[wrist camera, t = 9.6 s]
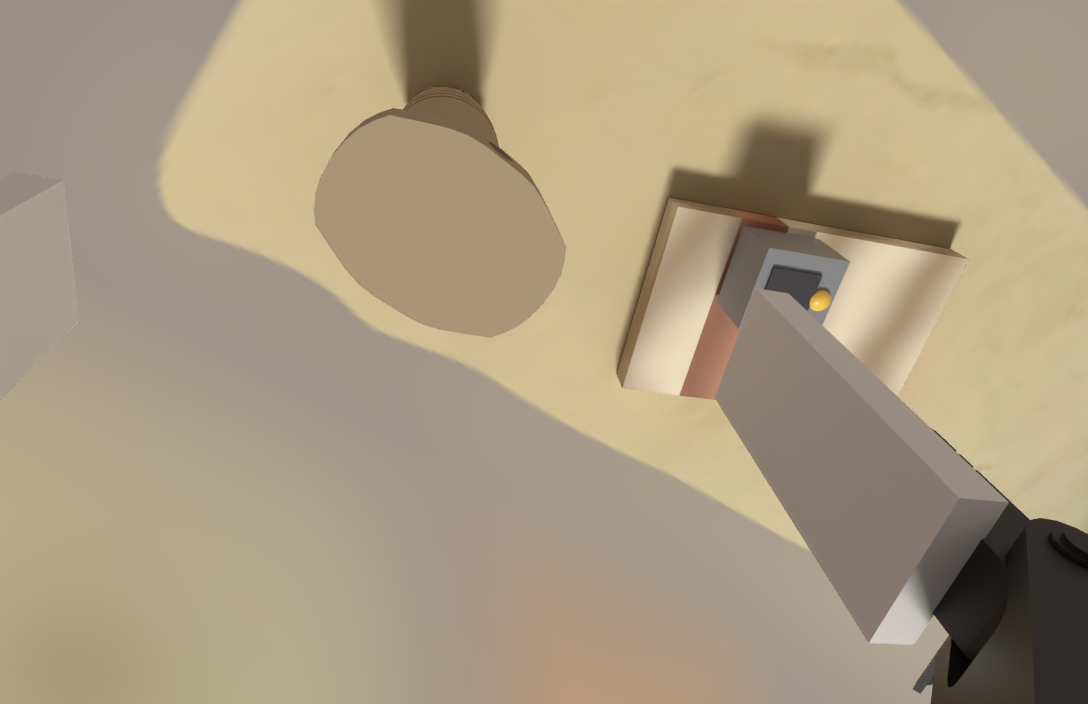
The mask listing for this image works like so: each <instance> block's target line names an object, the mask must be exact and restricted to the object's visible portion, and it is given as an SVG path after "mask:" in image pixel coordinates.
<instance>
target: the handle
mask: <svg viewBox="0 0 1088 704" xmlns="http://www.w3.org/2000/svg"><path fill="white" fill-rule="evenodd" d="M314 213H315V225H316V226H317V228H318V229H319V231H320V232H321V234H322V235H323V237H324V238H325V240H326V241H327V243H328V244H329V246H330V247H331V249H332V250H333V252H334V253H335V255H336V256H337V258H338V259H339V260H340V262H341V263H342V265H343V266H344V268H345V269H346V270H347V271H348V273H349V274H350V275H351V276H352V277H353V278H354V279H355V281H356V282H357V283H358V284H359V285H360V286H362V287H363V288H364V289H366V290H367V291H368V292H370V293H371V294H372V295H373V296H375V297H376V298H378V299H380V300H381V301H383V302H384V303H386V304H388V305H389V306H391V307H393V308H394V309H396V310H397V311H399V312H401V313H402V314H404V315H405V316H407V317H409V318H411V319H413V320H415V321H417V322H419V323H421V324H423V325H426V326H430V327H433V328H437V329H440V330H446V331H451V332H457V333H463V334H470V335H477V336H484V337H493V336H496V335H499V334H502V333H505V332H507V331H509V330H511V329H513V328H515V327H517V326H518V325H520V324H521V323H522V322H524V321H525V320H527V319H528V318H529V317H530V316H531V315H532V314H533V313H534V312H535V311H536V310H537V309H538V308H539V307H540V306H541V305H542V304H543V303H544V302H545V300H546V299H547V297H548V296H549V295H550V293H551V292H552V291H553V289H554V287H555V285H556V283H557V281H558V279H559V277H560V275H561V272H562V268H563V264H564V260H565V251H566V246H565V244H564V241H563V239H562V237H561V235H560V232H559V230H558V228H557V226H556V224H555V222H554V220H553V218H552V216H551V213H550V211H549V209H548V207H547V205H546V203H545V201H544V199H543V198H542V196H541V194H540V192H539V190H538V188H537V187H536V185H535V183H534V182H533V180H532V178H531V177H530V175H529V173H528V172H527V171H526V170H525V169H524V168H523V167H522V166H520V165H519V164H518V163H517V162H516V161H515V160H514V159H513V158H511V157H510V156H509V155H508V154H507V153H505V152H504V151H503V150H502V149H500V148H499V145H498V141H497V137H496V133H495V131H494V128H493V126H492V123H491V121H490V119H489V118H488V116H487V114H486V113H485V111H484V110H483V109H482V107H481V106H480V105H479V104H478V103H477V102H476V101H475V99H474V98H473V97H472V96H471V95H470V94H469V93H468V92H467V91H465V90H463V89H460V90H458V89H454V88H449V87H436V88H435V87H434V86H430V87H427V88H426V89H424V90H423V91H422V92H421V93H420V94H418V95H416V96H415V97H414V98H413V99H412V100H410V101H409V103H408V104H407V105H406V106H405V107H404V109H403V110H401V109H395V108H392V109H389V110H387V111H384V112H381V113H378V114H376V115H374V116H372V117H370V118H369V119H367V120H365V121H363V122H362V123H361V124H360V125H359V126H357V127H356V128H355V129H354V130H353V131H352V132H350V133H349V134H348V136H347V137H346V138H345V139H344V141H343V142H342V143H341V144H340V146H339V147H338V148H337V149H336V151H335V152H334V154H333V155H332V157H331V159H330V161H329V162H328V164H327V166H326V168H325V170H324V172H323V174H322V175H321V178H320V181H319V184H318V188H317V191H316V194H315V207H314Z"/></svg>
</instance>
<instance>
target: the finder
mask: <svg viewBox="0 0 1088 704" xmlns="http://www.w3.org/2000/svg"><path fill="white" fill-rule="evenodd" d="M849 264H850V261H849V260H847V259H846V258H844V257H843V256H842V255H840V254H839V253H838V252H836V251H835V250H833V249H832V248H831V247H829V246H828V245H827V244H825V243H824V242H822V241H821V240H820V239H816V238H811V237H805V236H800V235H794V234H788V233H783V232H777V231H772V230H766V229H760V228H755V227H749V226H743V228H742V231H741V234H740V237H739V240H738V243H737V245H736V248H735V251H734V254H733V257H732V259H731V262H730V265H729V268H728V271H727V273H726V276H725V279H724V282H723V285H722V288H721V290H720V293H719V296H718V299H717V303H718V304H719V306H720V307H721V308H722V309H723V311H724V312H725V313H726V314H727V315H728V317H729V318H730V319H731V320H732V322H733V323H734V324H735V325H736V327H737V328H738V329H741V327H742V324H743V322H744V319H745V316H746V314H747V311H748V308H749V306H750V303H751V301H752V298H753V295H754V293H755V290H756V288H757V289H763V290H770V291H776V292H783V293H789V294H790V295H791V296H792V297H793V298H794V299H795V300H796V301H797V302H798V303H799V304H800V305H801V306H802V307H803V308H805V309H806V310H807V311H808V312H809V313H810V314H811V315H812V316H813V317H814V318H815V319H816V320H817V321H818V322H819V323H820V324H821V325H823V323H824V320H825V318H826V316H827V314H828V311H829V309H830V307H831V304H832V302H833V300H834V298H835V295H836V293H837V291H838V289H839V286H840V284H841V282H842V279H843V277H844V275H845V273H846V270H847V268H848V266H849Z"/></svg>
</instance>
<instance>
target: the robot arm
mask: <svg viewBox="0 0 1088 704" xmlns="http://www.w3.org/2000/svg"><path fill="white" fill-rule="evenodd" d="M78 323H79V313H78V304H77V295H76V287H75V277H74V268H73V259H72V251H71V241H70V233H69V224H68V214H67V206H66V197H65V188H64V180H61V179H54V178H48V177H42V176H35V175H28V174H22V173H16V172H12V173H10V174H8V175H6V176H4V177H2V178H0V399H1V398H2V397H3V396H4V395H5V394H6V393H7V392H9V390H11V389H12V388H13V387H14V386H15V385H16V383H18V382H19V381H20V380H21V379H22V378H23V377H24V376H25V375H26V374H27V373H28V372H29V371H30V370H31V369H32V368H33V367H34V366H35V365H36V364H37V363H38V362H39V361H40V360H41V359H42V358H43V357H44V356H45V355H46V354H48V353H49V352H50V351H51V350H52V349H53V348H54V347H55V346H56V345H57V344H58V343H59V342H60V341H61V340H62V339H63V338H64V337H65V336H66V335H67V334H68V333H69V332H70V331H71V330H72V329H73V328H74V327H75V326H76V325H77V324H78ZM715 399H716V401H717V402H718V404H719V405H720V407H721V409H722V410H723V412H724V413H725V415H726V416H727V418H728V420H729V421H730V423H731V424H732V426H733V428H734V429H735V431H736V432H737V434H738V436H739V437H740V439H741V440H742V442H743V444H744V445H745V447H746V448H747V450H748V452H749V453H750V455H751V456H752V458H753V459H754V461H755V463H756V464H757V466H758V467H759V469H760V471H761V472H762V474H763V475H764V477H765V479H766V480H767V482H768V483H769V485H770V487H771V488H772V490H773V491H774V493H775V495H776V496H777V498H778V499H779V501H780V502H781V504H782V506H783V507H784V509H785V510H786V512H787V514H788V515H789V517H790V518H791V520H792V522H793V523H794V525H795V526H796V528H797V530H798V531H799V533H800V534H801V536H802V538H803V539H804V541H805V542H806V544H807V545H808V547H809V549H810V550H811V552H812V553H813V555H814V557H815V558H816V559H817V561H818V563H819V565H820V566H821V568H822V569H823V571H824V573H825V574H826V576H827V577H828V579H829V581H830V582H831V584H832V585H833V587H834V588H835V590H836V592H837V593H838V595H839V596H840V598H841V600H842V601H843V603H844V604H845V606H846V608H847V609H848V611H849V612H850V614H851V615H852V617H853V619H854V620H855V622H856V623H857V625H858V627H859V628H860V630H861V631H862V633H863V634H864V636H865V638H866V639H867V641H868V642H869V643H881V644H906V645H914V644H915V642H916V640H917V639H918V638H919V636H920V635H921V633H922V631H923V630H924V629H925V627H926V626H927V624H928V623H929V621H930V620H931V618H932V617H933V615H935V617H936V618H937V619H938V621H939V622H940V623H941V625H942V626H943V627H944V628H945V630H946V631H947V632H948V634H949V636H948V638H947V639H946V640H945V642H944V643H943V645H942V646H941V648H940V649H939V650H938V652H937V653H936V655H935V656H934V658H933V659H932V660H931V662H930V663H929V665H928V666H927V668H926V669H925V671H924V672H923V673H922V675H921V676H920V678H919V679H918V680H917V682H916V684H915V686H914V688H913V689H914V690H915V691H917V692H919V693H921V692H922V691H923V690H924V688H925V687H926V685H932V684H933V689H932V697H931V704H1088V534H1086V533H1084V532H1083V531H1081V530H1079V529H1077V528H1074V527H1072V526H1069V525H1066V524H1064V523H1061V522H1058V521H1054V520H1049V519H1043V518H1038V519H1033V520H1029V519H1028V518H1027V517H1026V516H1025V515H1024V514H1023V513H1022V512H1021V511H1020V510H1019V509H1018V508H1017V507H1016V506H1014V505H1013V504H1012V503H1011V502H1010V501H1009V500H1008V499H1007V498H1006V497H1005V496H1004V495H1003V494H1002V493H1001V492H1000V491H999V490H998V489H996V488H995V487H994V486H993V485H992V484H991V483H990V482H989V481H988V480H987V479H986V478H985V477H984V476H983V475H982V474H981V473H980V472H978V471H977V470H974V469H973V466H972V465H971V464H970V463H969V462H968V461H967V460H966V459H965V458H964V457H963V456H962V455H960V454H957V453H956V450H955V449H954V448H953V447H952V446H951V445H950V444H949V443H948V442H947V441H946V440H945V439H944V438H942V437H941V436H940V435H939V434H938V433H937V432H936V431H935V430H933V429H932V428H930V427H929V426H928V425H927V424H926V423H925V422H924V421H923V420H922V419H921V418H919V417H918V416H917V415H916V414H915V413H914V412H913V411H912V410H911V409H910V408H909V407H908V406H907V405H906V404H905V403H904V402H903V401H902V400H900V399H899V398H898V397H897V396H896V395H895V394H894V393H893V392H892V391H891V390H890V389H889V388H888V387H887V386H886V385H885V384H884V383H883V382H882V381H880V380H879V379H878V378H877V377H876V376H875V375H874V374H873V373H872V372H871V371H870V370H869V369H868V368H867V367H866V366H865V365H864V364H863V363H861V362H860V361H859V360H858V359H857V358H856V357H855V356H854V355H853V354H852V353H851V352H850V351H849V350H848V349H847V348H846V347H845V346H844V345H842V344H841V343H840V342H839V341H838V340H837V339H836V338H835V337H834V336H833V335H832V334H831V333H830V332H829V331H828V330H827V329H826V328H825V327H824V326H822V325H821V324H820V323H819V322H818V321H817V320H816V319H815V318H814V317H813V316H812V315H811V314H810V313H809V312H808V311H807V310H806V309H805V308H803V307H802V306H801V305H800V304H799V303H798V302H797V301H796V300H795V299H794V298H793V297H792V296H791V295H790V294H789V293H783V292H776V291H770V290H763V289H757V288H756V290H755V293H754V295H753V298H752V301H751V303H750V306H749V308H748V311H747V314H746V316H745V319H744V322H743V324H742V327H741V329H740V332H739V335H738V337H737V340H736V342H735V345H734V348H733V350H732V353H731V356H730V358H729V361H728V363H727V366H726V369H725V371H724V374H723V376H722V379H721V382H720V384H719V387H718V390H717V392H716V395H715Z"/></svg>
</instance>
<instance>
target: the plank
mask: <svg viewBox="0 0 1088 704" xmlns="http://www.w3.org/2000/svg"><path fill="white" fill-rule="evenodd" d="M743 226H749V227H755V228H760V229H766V230H772V231H777V232H783V233H788V234H794V235H800V236H805V237H811V238H816V239H820V240H821V241H822V242H824V243H825V244H827V245H828V246H829V247H831V248H832V249H833V250H835V251H836V252H838V253H839V254H840V255H842V256H843V257H844V258H846V259H847V260H849V261H850V264H849V266H848V268H847V270H846V273H845V275H844V277H843V279H842V282H841V284H840V286H839V289H838V291H837V293H836V295H835V298H834V300H833V302H832V304H831V307H830V309H829V311H828V314H827V316H826V318H825V320H824V323H823V325H822V326H824V327H825V328H826V329H827V330H828V331H829V332H830V333H831V334H832V335H833V336H834V337H835V338H836V339H837V340H838V341H839V342H840V343H841V344H842V345H844V346H845V347H846V348H847V349H848V350H849V351H850V352H851V353H852V354H853V355H854V356H855V357H856V358H857V359H858V360H859V361H860V362H861V363H863V364H864V365H865V366H866V367H867V368H868V369H869V370H870V371H871V372H872V373H873V374H874V375H875V376H876V377H877V378H878V379H879V380H880V381H882V382H883V383H884V384H885V385H886V386H887V387H888V388H889V389H890V390H891V391H892V392H893V393H894V394H895V395H896V396H898V394H899V392H900V390H901V388H902V386H903V384H904V383H905V381H906V379H907V377H908V375H909V373H910V371H911V369H912V367H913V365H914V363H915V362H916V360H917V358H918V356H919V354H920V352H921V350H922V348H923V346H924V344H925V342H926V341H927V339H928V337H929V335H930V333H931V331H932V329H933V327H934V325H935V323H936V321H937V320H938V318H939V316H940V314H941V312H942V310H943V308H944V306H945V304H946V302H947V300H948V298H949V297H950V295H951V293H952V291H953V289H954V287H955V285H956V283H957V281H958V279H959V277H960V276H961V274H962V272H963V270H964V268H965V266H966V264H967V262H968V260H969V259H968V258H966V257H964V256H962V255H960V254H959V253H957V252H955V251H953V250H951V249H948V248H942V247H937V246H931V245H926V244H920V243H915V242H909V241H904V240H899V239H893V238H888V237H882V236H877V235H871V234H866V233H860V232H855V231H849V230H844V229H838V228H833V227H828V226H822V225H817V224H811V223H806V222H800V221H795V220H789V219H784V218H778V217H773V216H767V215H762V214H757V213H751V212H746V211H740V210H735V209H729V208H724V207H718V206H713V205H707V204H702V203H696V202H691V201H686V200H680V199H675V198H669V199H668V203H667V206H666V209H665V213H664V216H663V219H662V223H661V226H660V230H659V233H658V236H657V240H656V243H655V246H654V250H653V253H652V256H651V260H650V263H649V266H648V270H647V273H646V276H645V280H644V283H643V287H642V290H641V293H640V297H639V300H638V303H637V307H636V310H635V313H634V317H633V320H632V323H631V327H630V330H629V333H628V337H627V340H626V343H625V347H624V350H623V354H622V357H621V360H620V364H619V367H618V370H617V377H618V379H619V381H620V384H621V386H622V388H624V389H632V390H640V391H648V392H657V393H665V394H673V395H680V396H688V397H697V398H705V399H713V400H716V399H715V395H716V392H717V390H718V387H719V384H720V382H721V379H722V376H723V374H724V371H725V369H726V366H727V363H728V361H729V358H730V356H731V353H732V350H733V348H734V345H735V342H736V340H737V337H738V335H739V332H740V329H738V328H737V327H736V325H735V324H734V323H733V322H732V320H731V319H730V318H729V317H728V315H727V314H726V313H725V312H724V311H723V309H722V308H721V307H720V306H719V304H718V303H717V299H718V296H719V293H720V290H721V288H722V285H723V282H724V279H725V276H726V273H727V271H728V268H729V265H730V262H731V259H732V257H733V254H734V251H735V248H736V245H737V243H738V240H739V237H740V234H741V231H742V228H743Z"/></svg>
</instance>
